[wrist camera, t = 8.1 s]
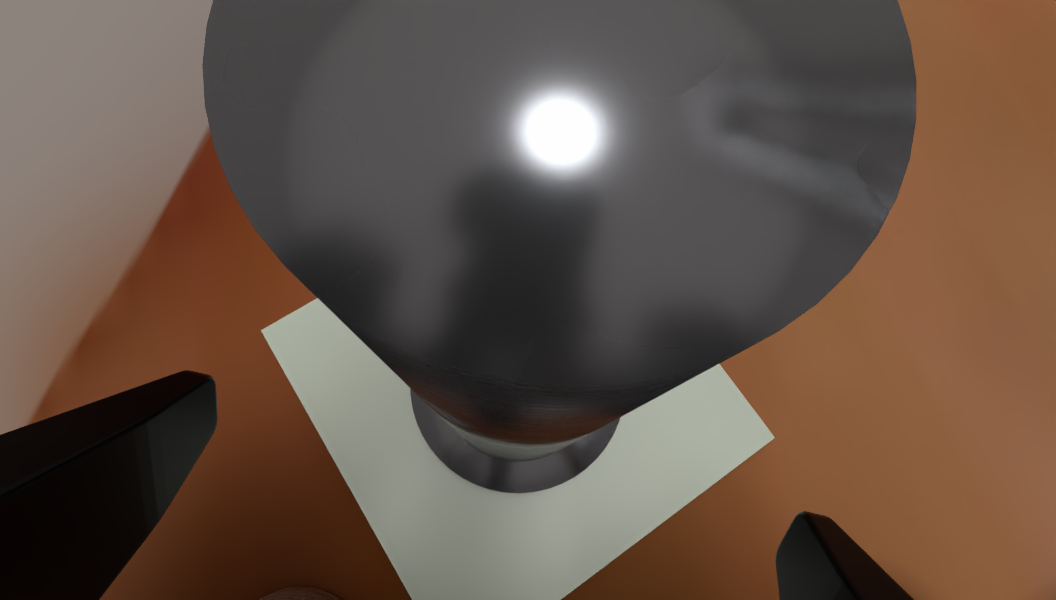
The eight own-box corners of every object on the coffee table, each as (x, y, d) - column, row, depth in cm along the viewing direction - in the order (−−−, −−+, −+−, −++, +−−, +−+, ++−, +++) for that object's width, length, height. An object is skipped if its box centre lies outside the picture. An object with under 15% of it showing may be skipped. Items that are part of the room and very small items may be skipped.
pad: (457, 671, 16) (456, 678, 15) (268, 335, 18) (260, 330, 18) (766, 438, 18) (775, 437, 18) (562, 166, 21) (564, 156, 20)
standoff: (537, 538, 16) (719, 857, 3) (372, 404, 17) (-166, 96, 3) (657, 367, 18) (1184, -20, 4) (500, 252, 19) (487, -391, 5)
